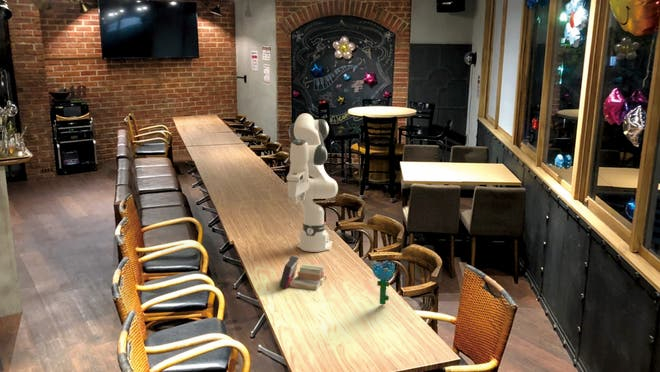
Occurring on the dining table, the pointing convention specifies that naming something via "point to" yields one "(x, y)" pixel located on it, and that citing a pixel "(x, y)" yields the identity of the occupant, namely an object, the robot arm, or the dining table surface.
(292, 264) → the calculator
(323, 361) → the dining table surface
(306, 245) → the robot arm
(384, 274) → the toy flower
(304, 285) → the sticky note pad set
